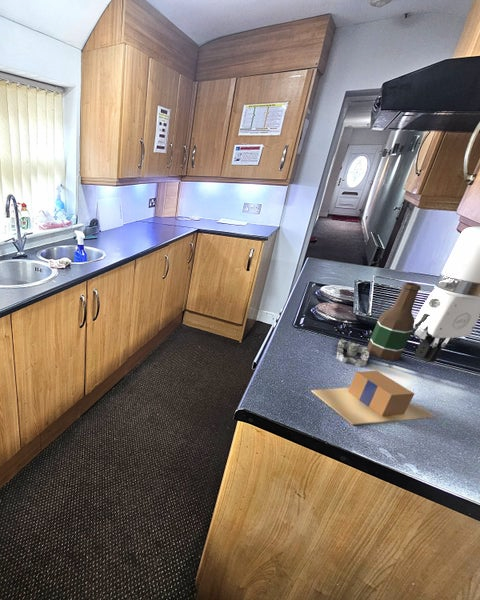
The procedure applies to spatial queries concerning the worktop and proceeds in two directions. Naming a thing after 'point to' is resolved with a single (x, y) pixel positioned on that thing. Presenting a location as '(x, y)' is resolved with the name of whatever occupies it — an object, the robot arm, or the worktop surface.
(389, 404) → the box
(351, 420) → the board
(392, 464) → the worktop surface
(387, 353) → the beer bottle
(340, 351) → the egg carton
